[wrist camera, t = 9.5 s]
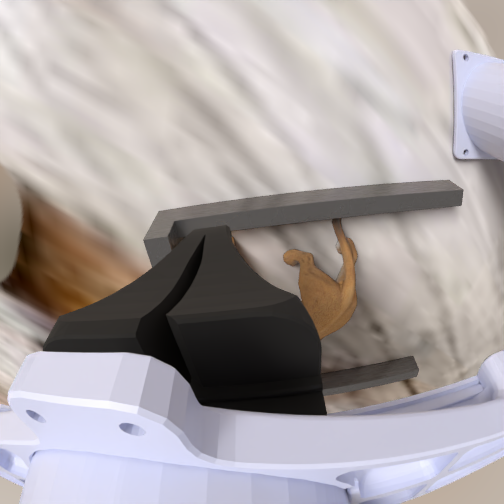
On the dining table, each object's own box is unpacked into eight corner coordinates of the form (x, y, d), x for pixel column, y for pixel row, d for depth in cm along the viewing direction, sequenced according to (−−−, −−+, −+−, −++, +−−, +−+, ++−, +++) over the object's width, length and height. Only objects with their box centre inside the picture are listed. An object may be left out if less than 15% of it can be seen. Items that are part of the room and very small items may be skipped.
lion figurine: (288, 354, 29) (298, 440, 21) (232, 343, 28) (230, 432, 20) (365, 216, 22) (420, 295, 14) (297, 191, 21) (327, 269, 13)
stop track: (449, 180, 20) (479, 201, 17) (410, 362, 31) (422, 391, 27) (158, 211, 21) (143, 239, 18) (217, 391, 32) (215, 423, 28)
